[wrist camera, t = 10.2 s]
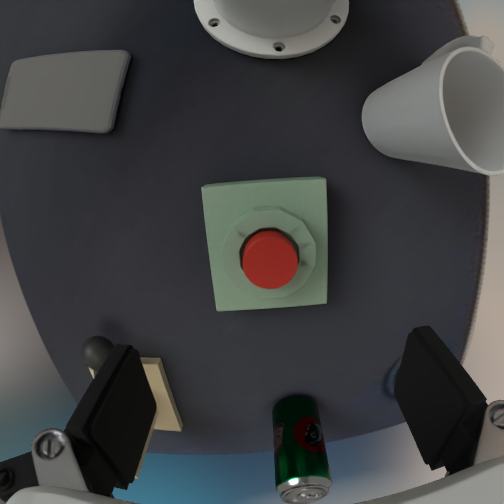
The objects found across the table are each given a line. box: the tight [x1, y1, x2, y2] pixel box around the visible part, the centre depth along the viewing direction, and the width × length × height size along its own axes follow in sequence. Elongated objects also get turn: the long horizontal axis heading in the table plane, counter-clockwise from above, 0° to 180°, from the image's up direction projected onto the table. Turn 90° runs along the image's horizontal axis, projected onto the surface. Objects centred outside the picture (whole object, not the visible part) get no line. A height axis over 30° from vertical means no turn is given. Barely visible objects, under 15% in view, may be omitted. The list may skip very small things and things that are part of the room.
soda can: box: [272, 395, 332, 504], centre depth 25 cm, size 5×5×12 cm
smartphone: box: [0, 50, 131, 134], centre depth 20 cm, size 8×1×15 cm
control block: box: [201, 177, 328, 311], centre depth 23 cm, size 10×9×4 cm
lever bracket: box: [89, 357, 183, 478], centre depth 26 cm, size 11×9×11 cm
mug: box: [362, 36, 504, 176], centre depth 15 cm, size 10×7×12 cm, turn 158°
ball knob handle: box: [82, 336, 114, 377], centre depth 23 cm, size 13×3×3 cm
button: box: [243, 231, 298, 289], centre depth 20 cm, size 4×4×2 cm
